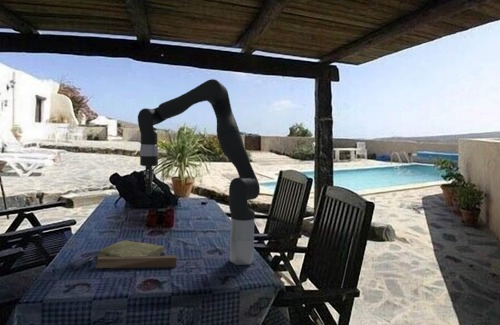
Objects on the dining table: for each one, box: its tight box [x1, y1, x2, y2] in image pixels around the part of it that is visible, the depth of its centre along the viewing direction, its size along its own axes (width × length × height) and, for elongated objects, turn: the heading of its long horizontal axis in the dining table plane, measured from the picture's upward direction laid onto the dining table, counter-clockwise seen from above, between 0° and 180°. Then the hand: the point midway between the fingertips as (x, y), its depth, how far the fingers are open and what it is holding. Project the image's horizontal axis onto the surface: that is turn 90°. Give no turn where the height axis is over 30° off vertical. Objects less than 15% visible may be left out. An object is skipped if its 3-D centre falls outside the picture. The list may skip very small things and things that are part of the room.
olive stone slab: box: [96, 239, 165, 258], centre depth 149 cm, size 19×20×4 cm
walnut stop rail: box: [96, 255, 178, 270], centre depth 137 cm, size 2×28×4 cm, turn 99°
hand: (148, 193), depth 164 cm, fingers closed
